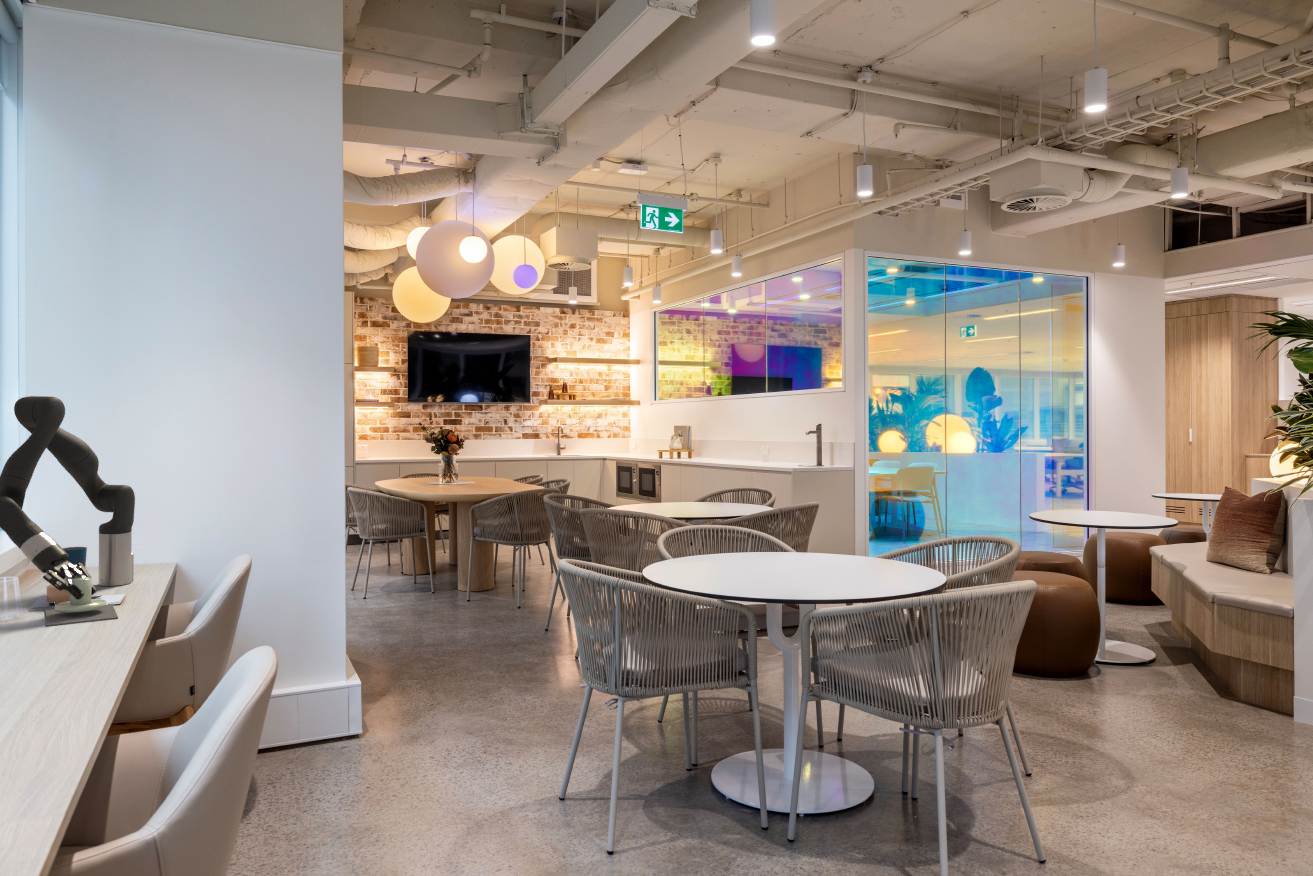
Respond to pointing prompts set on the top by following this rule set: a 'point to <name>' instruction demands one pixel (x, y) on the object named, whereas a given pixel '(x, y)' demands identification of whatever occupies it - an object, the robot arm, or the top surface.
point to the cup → (76, 555)
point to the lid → (85, 601)
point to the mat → (79, 616)
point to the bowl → (57, 595)
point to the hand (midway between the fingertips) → (87, 595)
